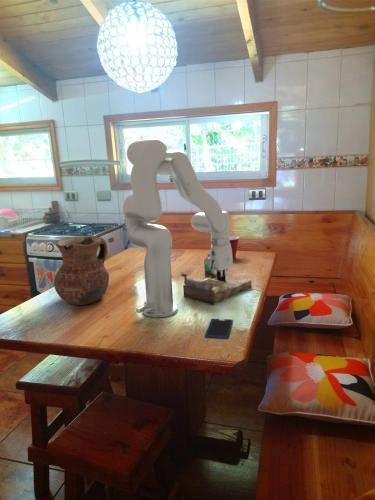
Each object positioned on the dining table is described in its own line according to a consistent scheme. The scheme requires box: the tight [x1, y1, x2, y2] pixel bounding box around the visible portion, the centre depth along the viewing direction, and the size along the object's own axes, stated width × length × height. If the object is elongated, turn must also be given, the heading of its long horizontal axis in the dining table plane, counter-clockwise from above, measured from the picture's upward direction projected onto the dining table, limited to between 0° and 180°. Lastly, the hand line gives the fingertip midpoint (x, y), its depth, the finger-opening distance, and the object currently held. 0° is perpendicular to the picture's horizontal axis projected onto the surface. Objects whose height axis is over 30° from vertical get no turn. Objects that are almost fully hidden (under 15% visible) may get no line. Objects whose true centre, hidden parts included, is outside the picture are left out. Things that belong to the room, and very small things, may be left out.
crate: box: [201, 278, 229, 295], centre depth 143 cm, size 11×11×4 cm
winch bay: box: [181, 273, 252, 306], centre depth 147 cm, size 27×16×10 cm, turn 137°
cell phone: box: [204, 318, 234, 340], centre depth 114 cm, size 7×14×1 cm, turn 167°
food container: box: [203, 253, 217, 279], centre depth 168 cm, size 12×6×10 cm, turn 168°
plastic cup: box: [230, 236, 240, 260], centre depth 203 cm, size 11×11×12 cm
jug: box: [53, 235, 110, 306], centre depth 144 cm, size 22×21×25 cm
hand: (221, 284), depth 149 cm, fingers closed
